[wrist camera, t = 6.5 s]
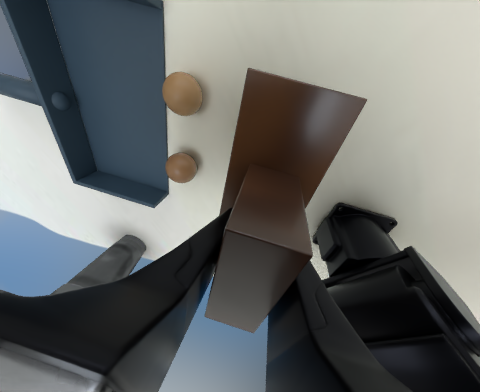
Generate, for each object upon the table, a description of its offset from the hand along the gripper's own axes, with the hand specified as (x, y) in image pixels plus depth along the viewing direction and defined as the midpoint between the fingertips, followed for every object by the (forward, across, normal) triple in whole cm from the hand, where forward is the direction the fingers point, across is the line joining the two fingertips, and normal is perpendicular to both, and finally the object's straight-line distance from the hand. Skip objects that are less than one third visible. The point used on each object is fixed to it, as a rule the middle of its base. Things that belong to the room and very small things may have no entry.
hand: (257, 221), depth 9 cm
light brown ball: (+8, +9, -4) cm, 13 cm away
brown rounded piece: (+8, +9, +3) cm, 12 cm away
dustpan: (+10, +21, 0) cm, 24 cm away
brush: (+3, 0, 0) cm, 3 cm away
